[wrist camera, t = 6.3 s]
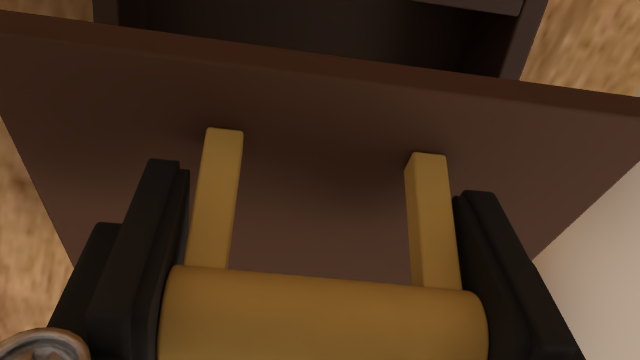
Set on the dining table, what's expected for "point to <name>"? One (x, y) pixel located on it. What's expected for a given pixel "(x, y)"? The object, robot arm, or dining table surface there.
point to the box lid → (302, 180)
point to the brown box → (355, 28)
